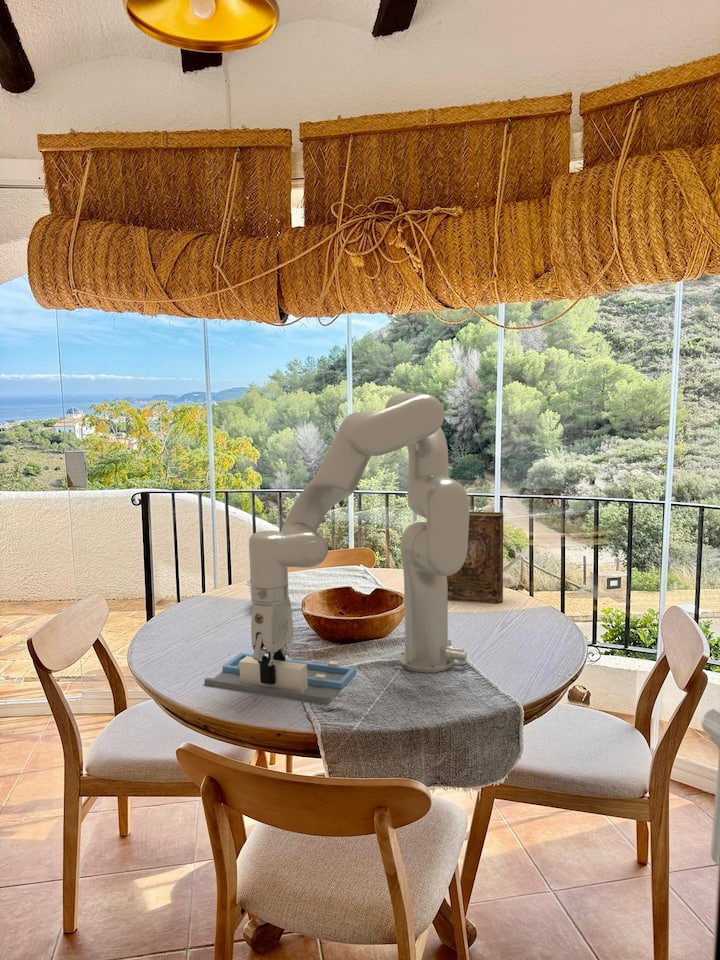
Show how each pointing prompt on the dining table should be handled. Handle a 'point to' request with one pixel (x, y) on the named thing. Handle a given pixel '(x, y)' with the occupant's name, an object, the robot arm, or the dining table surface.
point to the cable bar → (285, 674)
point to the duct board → (321, 689)
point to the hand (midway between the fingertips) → (273, 677)
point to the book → (481, 562)
